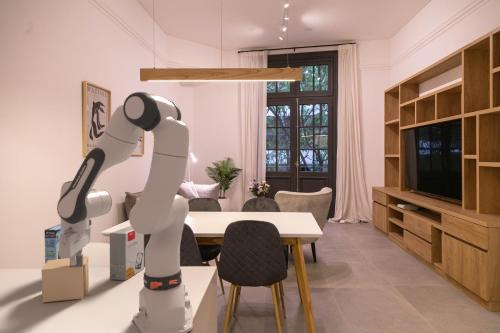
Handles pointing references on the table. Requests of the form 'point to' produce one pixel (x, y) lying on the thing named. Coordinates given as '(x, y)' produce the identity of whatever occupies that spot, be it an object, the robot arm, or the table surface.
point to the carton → (66, 263)
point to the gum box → (52, 243)
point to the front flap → (63, 282)
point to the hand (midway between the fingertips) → (76, 263)
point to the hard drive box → (126, 253)
